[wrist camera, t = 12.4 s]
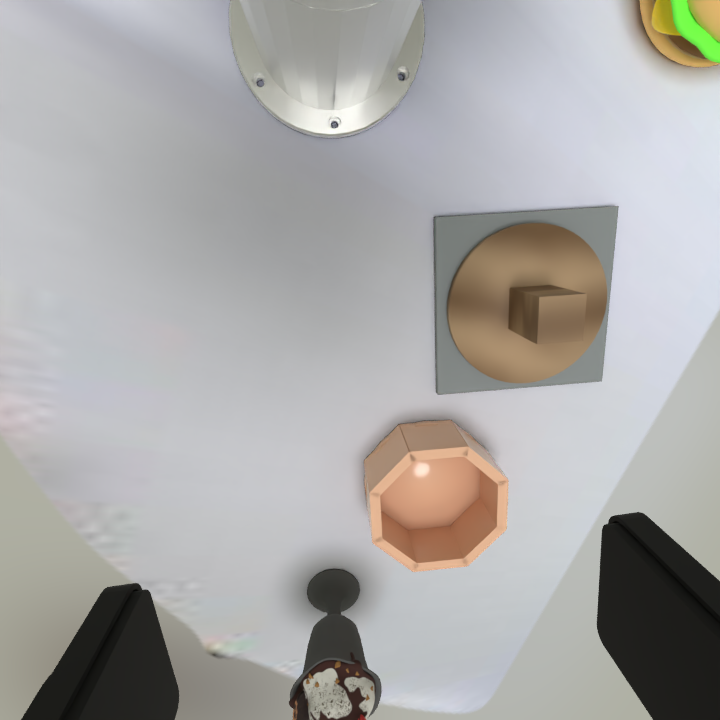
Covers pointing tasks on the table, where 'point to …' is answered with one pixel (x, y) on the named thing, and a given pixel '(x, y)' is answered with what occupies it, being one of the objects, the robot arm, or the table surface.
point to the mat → (456, 243)
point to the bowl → (434, 496)
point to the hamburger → (684, 29)
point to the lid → (527, 302)
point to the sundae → (334, 658)
